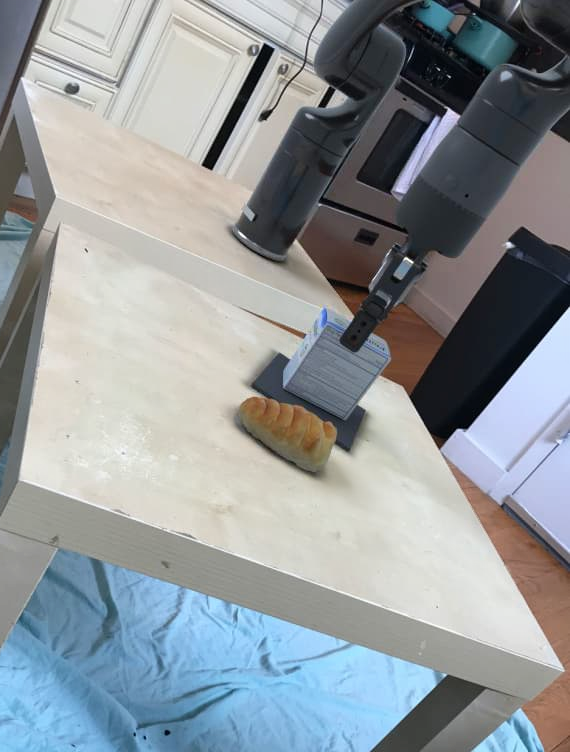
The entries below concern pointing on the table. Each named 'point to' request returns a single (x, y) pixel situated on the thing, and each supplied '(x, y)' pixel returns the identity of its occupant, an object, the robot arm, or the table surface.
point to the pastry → (289, 431)
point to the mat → (306, 402)
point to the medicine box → (334, 366)
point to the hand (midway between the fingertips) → (353, 336)
